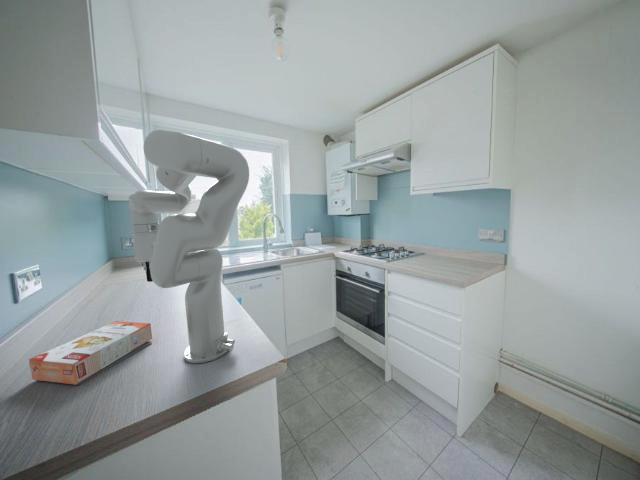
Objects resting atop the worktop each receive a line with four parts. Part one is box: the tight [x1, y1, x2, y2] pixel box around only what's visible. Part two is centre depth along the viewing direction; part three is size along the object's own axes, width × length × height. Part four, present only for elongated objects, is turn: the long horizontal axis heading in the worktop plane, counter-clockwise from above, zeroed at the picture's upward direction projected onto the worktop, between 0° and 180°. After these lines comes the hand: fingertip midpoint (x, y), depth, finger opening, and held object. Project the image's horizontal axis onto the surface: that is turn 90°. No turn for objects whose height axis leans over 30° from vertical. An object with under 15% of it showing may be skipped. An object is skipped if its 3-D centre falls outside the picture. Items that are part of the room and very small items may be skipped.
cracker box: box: [28, 320, 153, 386], centre depth 65 cm, size 14×6×21 cm
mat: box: [77, 341, 153, 385], centre depth 66 cm, size 16×18×1 cm
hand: (153, 280), depth 81 cm, fingers closed
